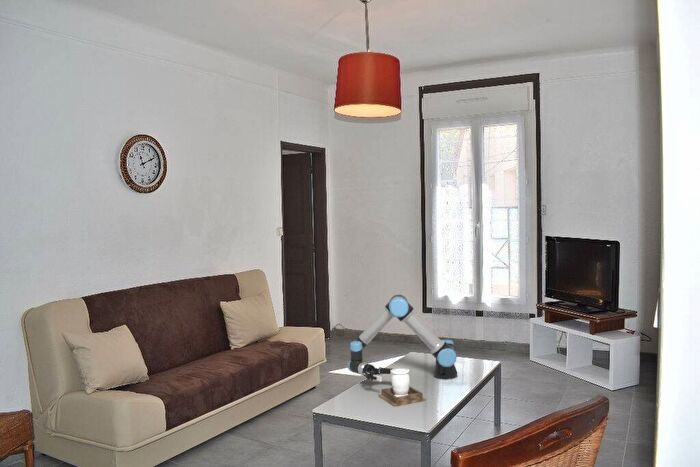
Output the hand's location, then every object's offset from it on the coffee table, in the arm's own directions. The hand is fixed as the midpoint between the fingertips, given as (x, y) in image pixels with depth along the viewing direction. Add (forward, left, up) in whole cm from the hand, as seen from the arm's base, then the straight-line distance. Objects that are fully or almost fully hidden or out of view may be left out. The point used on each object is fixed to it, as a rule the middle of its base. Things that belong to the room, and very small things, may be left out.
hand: (389, 376), depth 319 cm
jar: (-2, +9, -9) cm, 13 cm away
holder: (-2, +9, -10) cm, 14 cm away
